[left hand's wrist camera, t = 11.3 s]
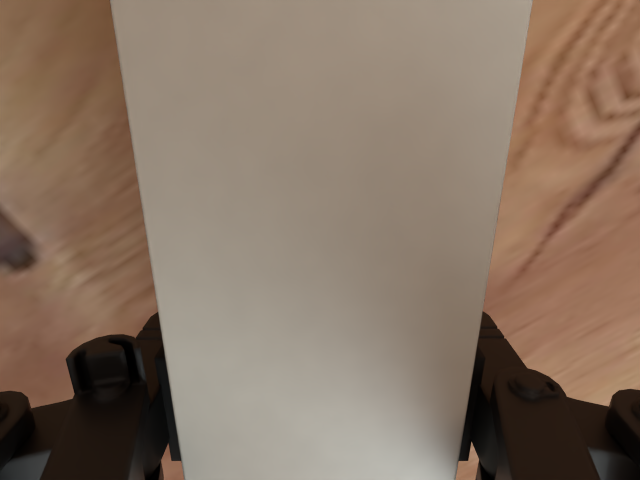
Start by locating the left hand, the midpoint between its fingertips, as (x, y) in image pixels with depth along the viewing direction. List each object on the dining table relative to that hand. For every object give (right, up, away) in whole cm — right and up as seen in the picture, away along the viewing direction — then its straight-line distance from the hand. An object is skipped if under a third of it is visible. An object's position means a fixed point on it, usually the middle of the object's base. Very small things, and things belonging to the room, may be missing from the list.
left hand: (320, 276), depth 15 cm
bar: (0, +18, -6) cm, 19 cm away
